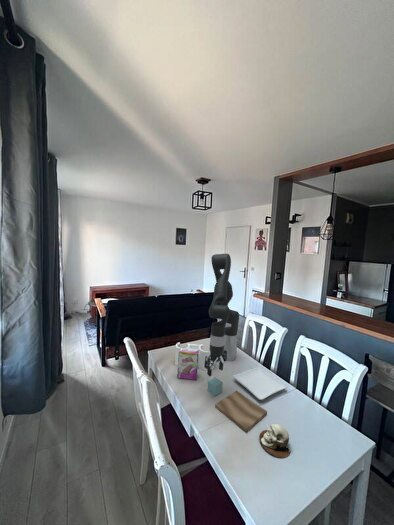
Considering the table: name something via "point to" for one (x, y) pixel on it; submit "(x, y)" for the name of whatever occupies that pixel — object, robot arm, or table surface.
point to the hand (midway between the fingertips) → (215, 372)
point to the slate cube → (215, 386)
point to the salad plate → (259, 382)
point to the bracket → (200, 358)
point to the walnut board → (241, 410)
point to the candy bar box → (188, 363)
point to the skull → (275, 440)
